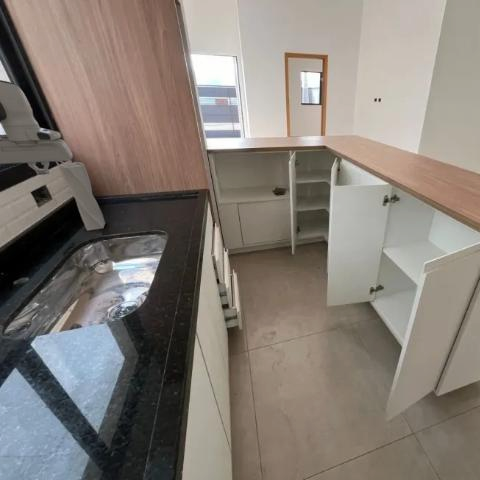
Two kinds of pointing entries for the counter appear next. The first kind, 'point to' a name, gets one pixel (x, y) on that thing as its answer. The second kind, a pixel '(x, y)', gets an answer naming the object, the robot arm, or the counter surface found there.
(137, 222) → the counter surface
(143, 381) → the counter surface
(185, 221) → the counter surface
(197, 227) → the counter surface
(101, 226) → the grey twisted bar
